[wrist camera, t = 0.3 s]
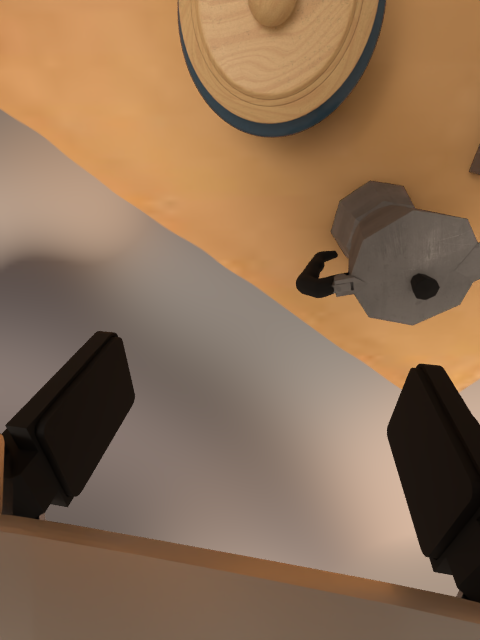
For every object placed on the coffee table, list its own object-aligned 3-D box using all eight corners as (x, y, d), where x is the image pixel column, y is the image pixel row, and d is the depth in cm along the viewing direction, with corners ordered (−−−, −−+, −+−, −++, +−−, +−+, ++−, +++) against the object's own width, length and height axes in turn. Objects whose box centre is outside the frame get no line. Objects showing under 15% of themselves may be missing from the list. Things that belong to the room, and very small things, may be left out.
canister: (373, -42, 25) (483, -281, 11) (335, 140, 32) (370, 150, 18) (218, -48, 27) (121, -272, 12) (214, 129, 34) (149, 129, 19)
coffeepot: (437, 162, 32) (564, 193, 17) (433, 249, 37) (531, 335, 21) (288, 199, 36) (284, 251, 21) (302, 273, 41) (306, 360, 25)
